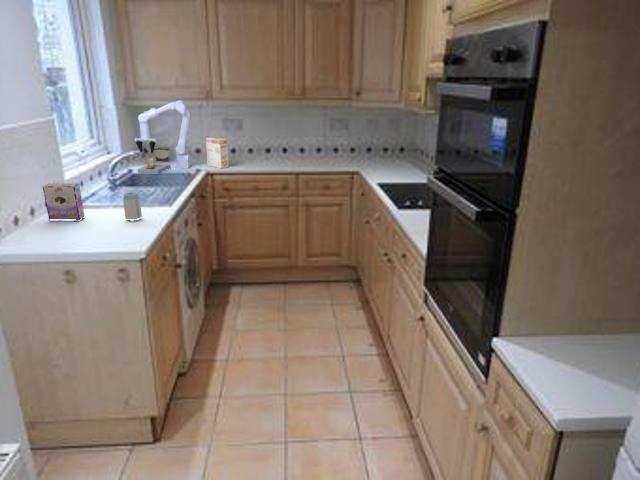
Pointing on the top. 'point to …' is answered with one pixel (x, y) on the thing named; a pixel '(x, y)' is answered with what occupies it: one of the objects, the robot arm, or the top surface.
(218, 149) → the coffeecake box
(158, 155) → the food container
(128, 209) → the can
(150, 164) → the peg
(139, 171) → the board
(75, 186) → the candy box
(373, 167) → the top surface
